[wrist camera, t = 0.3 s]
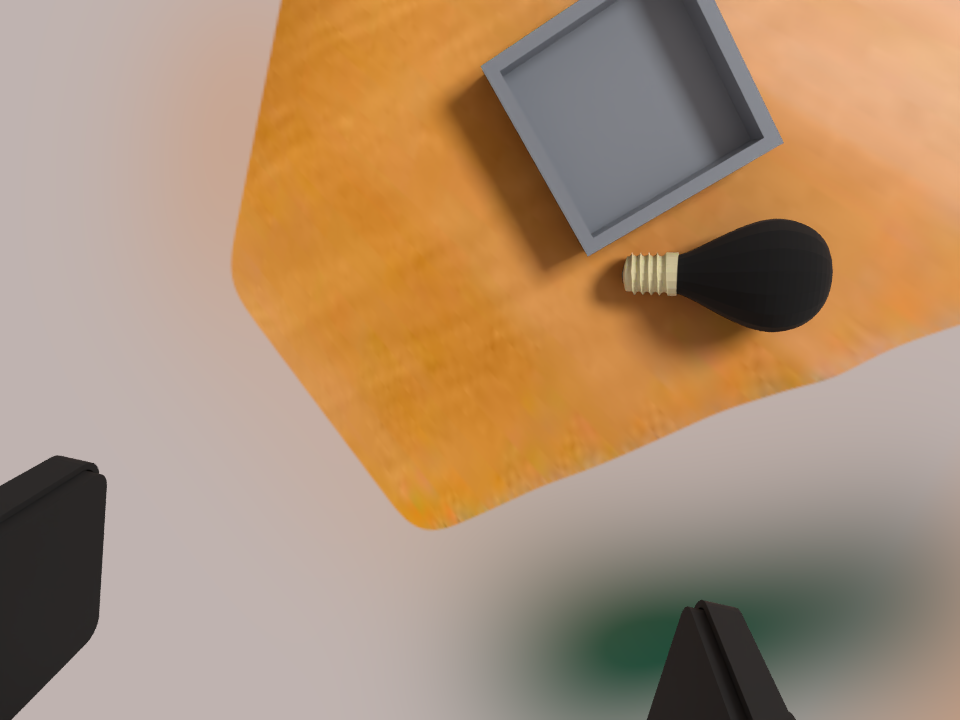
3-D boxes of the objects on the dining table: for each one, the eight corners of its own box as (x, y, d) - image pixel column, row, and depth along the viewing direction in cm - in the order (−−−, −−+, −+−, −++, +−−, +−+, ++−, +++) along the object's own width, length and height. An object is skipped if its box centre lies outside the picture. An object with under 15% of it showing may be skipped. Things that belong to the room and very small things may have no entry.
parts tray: (484, 74, 42) (480, 66, 39) (670, -50, 39) (681, -69, 36) (584, 251, 44) (587, 256, 41) (766, 145, 41) (783, 142, 38)
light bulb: (611, 299, 39) (843, 305, 35) (622, 198, 41) (842, 194, 37) (621, 341, 45) (820, 350, 41) (630, 251, 47) (820, 252, 43)
